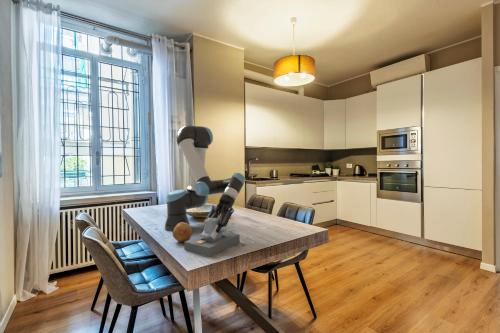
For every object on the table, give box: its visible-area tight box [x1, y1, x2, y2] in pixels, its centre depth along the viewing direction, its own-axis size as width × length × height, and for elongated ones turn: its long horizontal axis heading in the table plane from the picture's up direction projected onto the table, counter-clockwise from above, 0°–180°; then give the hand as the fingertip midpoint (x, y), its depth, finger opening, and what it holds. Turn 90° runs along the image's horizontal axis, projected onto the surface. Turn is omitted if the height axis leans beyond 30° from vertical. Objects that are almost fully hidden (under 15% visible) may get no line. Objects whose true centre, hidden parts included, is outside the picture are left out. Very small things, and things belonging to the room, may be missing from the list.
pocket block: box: [183, 231, 241, 258], centre depth 121 cm, size 22×16×5 cm
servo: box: [199, 217, 227, 242], centre depth 120 cm, size 13×5×12 cm, turn 146°
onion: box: [172, 222, 193, 243], centre depth 129 cm, size 10×10×10 cm
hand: (207, 237), depth 117 cm, fingers closed on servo, 5 cm apart
